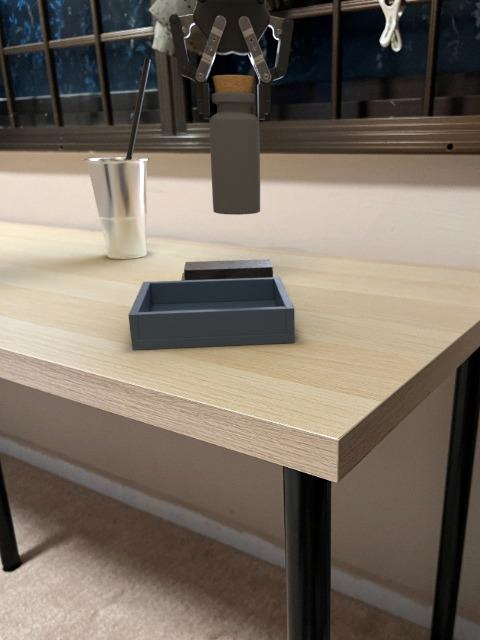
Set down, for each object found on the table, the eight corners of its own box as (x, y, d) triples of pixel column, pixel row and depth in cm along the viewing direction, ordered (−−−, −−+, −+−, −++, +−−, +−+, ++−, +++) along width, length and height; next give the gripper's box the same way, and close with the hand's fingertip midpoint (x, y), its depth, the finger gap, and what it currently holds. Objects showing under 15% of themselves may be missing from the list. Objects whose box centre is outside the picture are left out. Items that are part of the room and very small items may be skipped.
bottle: (244, 208, 79) (241, 79, 73) (269, 212, 75) (268, 76, 69) (204, 211, 76) (198, 76, 70) (228, 216, 72) (224, 73, 66)
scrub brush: (181, 298, 76) (179, 270, 74) (183, 287, 81) (181, 261, 80) (277, 295, 77) (277, 267, 75) (273, 284, 82) (272, 258, 81)
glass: (166, 248, 109) (150, 58, 97) (158, 260, 98) (139, 49, 87) (105, 249, 108) (81, 58, 96) (90, 261, 98) (61, 49, 86)
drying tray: (132, 350, 58) (128, 314, 57) (146, 311, 70) (143, 281, 69) (294, 342, 60) (294, 308, 58) (280, 306, 72) (280, 276, 71)
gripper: (158, -67, 61) (170, 118, 67) (301, -61, 62) (299, 119, 69) (163, -47, 67) (174, 119, 74) (292, -42, 69) (291, 120, 75)
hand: (234, 118), depth 71 cm, fingers closed on bottle, 5 cm apart
